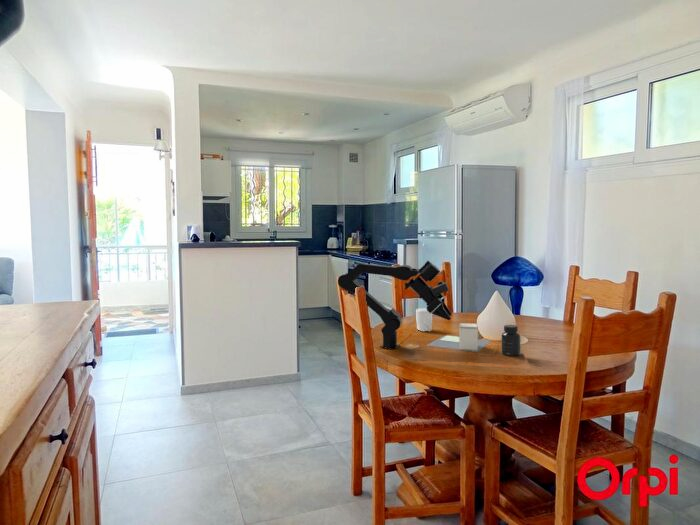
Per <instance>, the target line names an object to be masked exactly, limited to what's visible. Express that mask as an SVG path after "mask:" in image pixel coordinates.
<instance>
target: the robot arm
mask: <svg viewBox="0 0 700 525" xmlns="http://www.w3.org/2000/svg"><path fill="white" fill-rule="evenodd" d="M440 273H441V270H440V269H439V268H438V267H437V266H436V265H435V264H433V263H432V262H431V261H430V260H427V261H425V263H424V264H423V265H422V266H421V267H420V268H413V267H412V266H410V265H409V264H404V265H391V266H390V265H381V264H372V263H364V262H359V263H358V264H356V266H354V267H353V268H352V269H351V270H349V271H348V272H345V273H344V274H341V275H340V276H338V278H337V284H338V286H339V288H341V289H342V290H344V291H346V292H348V293H350V294H353V295H354V293H355V288H356V287H362V285H361V284H360V283H359V281H358V279H357V278H359V277H360V276H361V275H362V274H368V275H369V274H371V275H378V276H379V275H381V276H389V277H392V278H395V279H396V280H401V281H406V282H404V290H408V289H409V288H411V290H412V291H413V292H414V293H415V294H417V296H418V298H419V299H420V300H421V299H422V301H423V302H424V303H425V304H426V308H427V311H428V312H429V313H431V312H432V311H433V312H432V313H431V314H432V315H435V316H437V317H440V318H442V319H444V320H447V321H451V316H452V315H453V314H452V312H451V310H450V309H449V307H448V306H447V304H446V301H445V300H446V298H445V296H444V293H445V292H448V291H450V287H449V286H448V284H447V282H446V281H444V282H443V281H442V280H441V281H438V282H437V285H436V286H434V287H433V286H432V285H429V284H428V283H427V282H428V281H429V282H432V281H433V280H434V279H435V278H436V277H437V276H438V275H439V274H440ZM417 275H418V276H417ZM416 276H417V277H416ZM408 280H409V281H408ZM407 281H408V282H407ZM364 290H365V293H366V301H367V305H366V306H367V307H368V308H369V309H371V310H372V311H373V312H374V313H375V314H377V316H379V317H380V319H381V320H382V322H383V326H382V328H381V329H380V331H381V334H382V344H381V345H380V346H379V348H381V347H386V348H385V349H388V348H391V349H390V350H394V348H395V349H397V348H399V347H401V344H398V335H397V334H398V332H397V330H399V328H401V326H402V324H403V318H402V316H401V313H400V312H398V311H397V310H396V309H395V308H394V307H391V309H390V308H387V307H385V305H384V304H382V303H381V302H380V301H378V299H376V298H375V297H374V296H373V295H372V294H370V293H369V292H368V291H367V290H366V289H364ZM398 346H399V347H398ZM396 347H397V348H396Z"/></svg>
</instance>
